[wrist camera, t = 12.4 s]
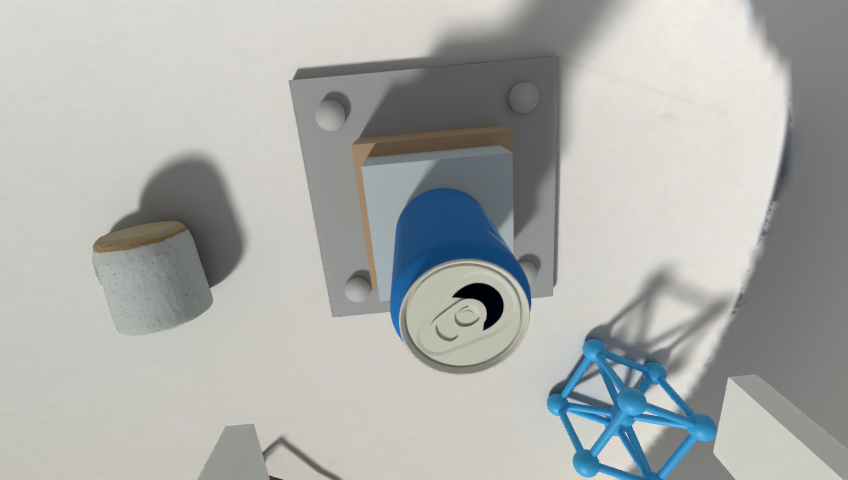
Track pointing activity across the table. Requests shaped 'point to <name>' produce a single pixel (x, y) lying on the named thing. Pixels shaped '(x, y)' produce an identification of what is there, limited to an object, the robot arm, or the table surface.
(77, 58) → the table surface
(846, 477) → the robot arm
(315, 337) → the table surface
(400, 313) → the beverage can
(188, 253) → the ceramic mug
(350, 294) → the tower base
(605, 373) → the molecular structure
